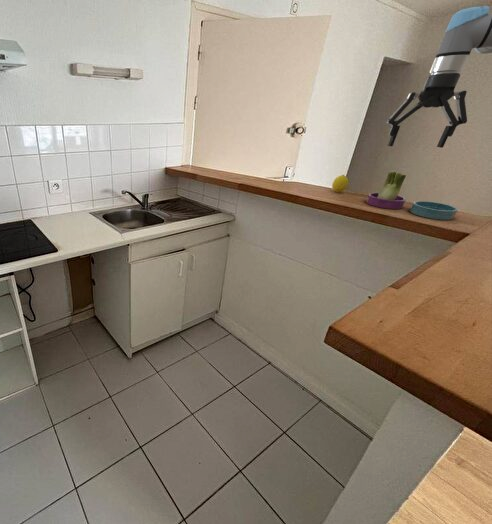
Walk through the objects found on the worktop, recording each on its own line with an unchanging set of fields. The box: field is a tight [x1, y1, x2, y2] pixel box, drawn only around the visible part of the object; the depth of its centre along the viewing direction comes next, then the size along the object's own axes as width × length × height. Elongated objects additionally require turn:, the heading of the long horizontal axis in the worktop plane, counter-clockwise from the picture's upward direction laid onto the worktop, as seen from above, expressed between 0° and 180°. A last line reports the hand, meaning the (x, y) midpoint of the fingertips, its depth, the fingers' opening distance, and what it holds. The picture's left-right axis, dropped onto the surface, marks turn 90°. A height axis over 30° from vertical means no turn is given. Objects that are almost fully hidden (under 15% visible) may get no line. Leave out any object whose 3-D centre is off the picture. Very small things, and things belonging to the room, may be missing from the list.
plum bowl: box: [365, 192, 407, 210], centre depth 108 cm, size 11×11×4 cm
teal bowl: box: [409, 200, 459, 221], centre depth 98 cm, size 11×11×4 cm
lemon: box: [331, 174, 349, 194], centre depth 122 cm, size 6×6×8 cm
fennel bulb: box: [377, 171, 407, 200], centre depth 105 cm, size 6×5×12 cm
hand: (414, 146), depth 98 cm, fingers open, 13 cm apart
